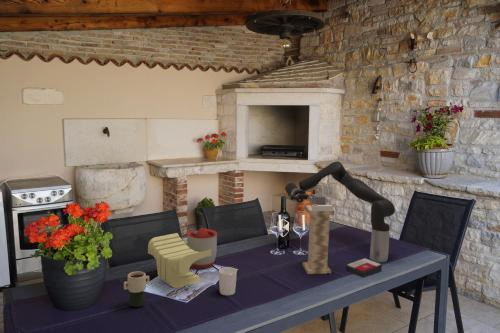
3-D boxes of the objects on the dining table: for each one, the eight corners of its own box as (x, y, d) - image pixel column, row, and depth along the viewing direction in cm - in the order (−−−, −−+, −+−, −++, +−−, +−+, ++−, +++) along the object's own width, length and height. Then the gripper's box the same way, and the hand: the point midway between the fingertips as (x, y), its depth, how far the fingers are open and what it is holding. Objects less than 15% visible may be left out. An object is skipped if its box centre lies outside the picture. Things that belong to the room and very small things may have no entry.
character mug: (145, 298, 172) (145, 268, 171) (153, 304, 167) (153, 274, 165) (120, 305, 165) (120, 274, 164) (128, 312, 160) (127, 280, 158)
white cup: (229, 297, 175) (230, 275, 173) (214, 293, 179) (215, 271, 177) (239, 291, 181) (240, 269, 180) (225, 286, 185) (225, 265, 184)
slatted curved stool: (148, 274, 197) (148, 238, 195) (177, 266, 207) (177, 232, 205) (179, 296, 174) (179, 256, 172) (210, 287, 185) (211, 249, 182)
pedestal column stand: (324, 264, 215) (327, 205, 211) (331, 273, 204) (334, 211, 199) (301, 264, 214) (304, 205, 210) (307, 274, 202) (310, 211, 198)
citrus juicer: (207, 256, 223) (208, 220, 220) (222, 267, 208) (222, 229, 205) (180, 261, 215) (180, 224, 212) (193, 272, 200) (194, 233, 197)
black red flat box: (345, 264, 208) (364, 256, 217) (345, 271, 209) (364, 264, 217) (363, 271, 199) (382, 263, 208) (362, 279, 200) (381, 271, 209)
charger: (316, 201, 218) (316, 190, 218) (325, 209, 203) (325, 197, 202) (307, 201, 218) (307, 190, 217) (315, 209, 202) (316, 197, 201)
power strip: (331, 209, 202) (331, 203, 201) (332, 211, 199) (333, 204, 199) (311, 209, 200) (311, 203, 200) (312, 211, 198) (313, 204, 197)
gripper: (309, 201, 247) (317, 206, 231) (286, 201, 246) (293, 206, 229) (310, 188, 247) (318, 192, 231) (287, 188, 245) (293, 192, 229)
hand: (305, 199), depth 230 cm, fingers open, 8 cm apart
